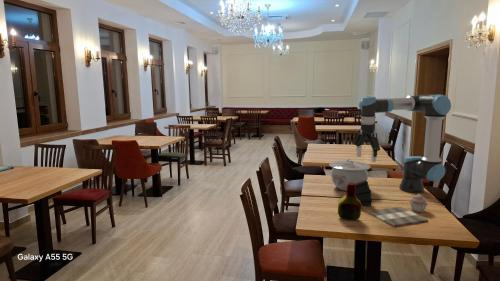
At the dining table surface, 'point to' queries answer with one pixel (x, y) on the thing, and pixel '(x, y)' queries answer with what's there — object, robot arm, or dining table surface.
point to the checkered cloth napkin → (397, 216)
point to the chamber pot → (348, 173)
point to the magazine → (363, 193)
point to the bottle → (349, 204)
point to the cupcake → (418, 203)
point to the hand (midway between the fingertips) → (366, 159)
